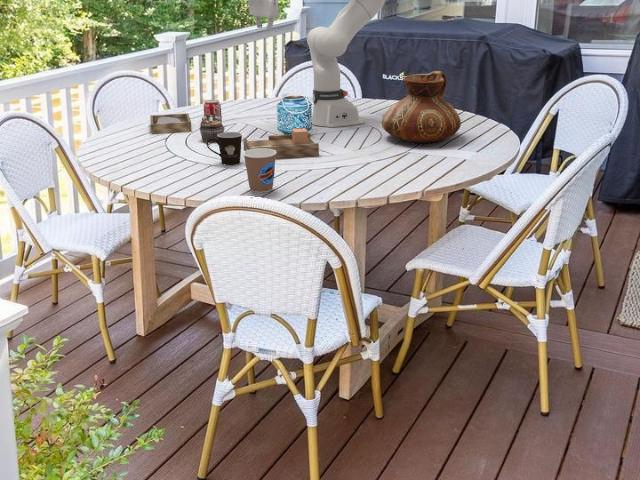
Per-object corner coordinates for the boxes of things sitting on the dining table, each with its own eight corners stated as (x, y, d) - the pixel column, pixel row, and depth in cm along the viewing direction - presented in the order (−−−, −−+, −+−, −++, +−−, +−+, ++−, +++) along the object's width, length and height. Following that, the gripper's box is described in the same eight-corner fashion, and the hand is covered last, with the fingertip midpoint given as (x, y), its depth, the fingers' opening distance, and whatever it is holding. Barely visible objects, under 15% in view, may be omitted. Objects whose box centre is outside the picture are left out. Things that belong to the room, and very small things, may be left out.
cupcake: (195, 142, 308) (193, 116, 305) (209, 136, 316) (208, 111, 313) (215, 144, 304) (214, 118, 300) (229, 139, 312) (228, 113, 308)
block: (305, 138, 298) (305, 128, 296) (308, 142, 293) (307, 131, 292) (292, 139, 297) (291, 129, 295) (294, 142, 292) (294, 132, 291)
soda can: (223, 128, 330) (222, 99, 326) (220, 132, 323) (218, 102, 319) (207, 127, 331) (205, 99, 326) (203, 131, 324) (201, 102, 320)
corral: (189, 122, 341) (188, 113, 339) (191, 131, 324) (191, 122, 323) (151, 124, 338) (150, 115, 336) (151, 134, 321) (150, 124, 320)
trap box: (309, 144, 301) (309, 133, 300) (318, 155, 286) (318, 143, 284) (243, 149, 296) (243, 137, 295) (249, 160, 281) (249, 148, 279)
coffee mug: (247, 160, 281) (245, 132, 278) (237, 166, 274) (235, 138, 270) (217, 158, 285) (215, 130, 281) (206, 164, 277) (204, 136, 274)
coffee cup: (261, 196, 242) (259, 158, 238) (238, 190, 248) (236, 153, 244) (284, 188, 249) (283, 151, 245) (261, 182, 256) (260, 146, 251)
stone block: (181, 129, 337) (157, 125, 336) (182, 118, 336) (158, 114, 334) (179, 137, 327) (154, 133, 325) (180, 125, 325) (155, 121, 323)
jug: (450, 151, 289) (453, 82, 280) (371, 145, 299) (372, 78, 290) (466, 133, 315) (469, 69, 306) (392, 128, 325) (393, 66, 316)
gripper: (282, -8, 296) (283, 30, 301) (259, -11, 313) (261, 26, 318) (266, -7, 294) (268, 31, 299) (244, -10, 310) (246, 27, 315)
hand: (264, 28), depth 308 cm, fingers open, 8 cm apart
